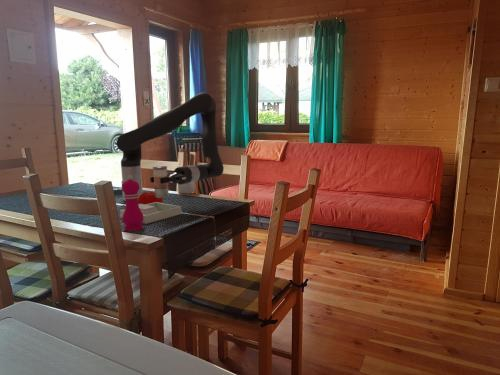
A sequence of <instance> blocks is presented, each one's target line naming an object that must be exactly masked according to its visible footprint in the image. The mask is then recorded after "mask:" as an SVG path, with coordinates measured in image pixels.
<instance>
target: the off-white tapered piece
mask: <svg viewBox="0 0 500 375" xmlns="http://www.w3.org/2000/svg"><path fill="white" fill-rule="evenodd" d="M138 206H139V208H140V210H141V212H142V214H143V215H148V214H152V213H156V212H157V208H155V206H150V205H144V204H138Z"/></svg>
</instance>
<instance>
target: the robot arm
mask: <svg viewBox="0 0 500 375" xmlns="http://www.w3.org/2000/svg"><path fill="white" fill-rule="evenodd" d="M216 109H217V102H216V100H215V99H214V98H213V97H212V95H211V94H209V93H207V92H199V93H197V94H196V95H194V96H192V97H191V98H190V99H188V100H186V101H185V102H184V103H182V104H179V105H178V106H176V107H174V108H172V109H170V110H168V111H166V112H163V113H162V114H160V115H158V116H155V117H154V118H152V119H151V120H149V121H147V122H146V123H144V124H142V125H141V126H139V127H137V128H135V129H132V130H130V131H127V132H125V133H122V134H120V135H118V138H117V139H116V147H117V149H118V150H119V151H120V152H122V159H121V160H120V168H121V185H122V184H123V183H124V182H125V181H127V180H128V179H127V177H128V176H132V177H133V179H132V180H135V181H137V182H138V183H139V186H140V188H139V191H138V192H137V193H138V196H140V195H141V194H142V193H144V192H143V178H142V177H143V176H142V166H141V162H142V145H143V144H144V143H146V142H148V141H151V140H154V139H157V138H160V137H163V136H166V135H167V134H169V133H171V132H173V131H175V130H177V129H178V128H179V127H180V126H182V124H184V122H186V121H187V120H188V119H190V118H192V117H193V116H195V115H197V114H200V117H201V121H202V134H201V135H202V136H201V143H202V144H201V145H202V153H203V157H204V158H207V159H210V162H207V163H204V164H193V165H183V166H178V167H176V168H175V169H174V170H173V171H170V172H167V177H164V178H160V183H161V184H163V183H168V184H169V183H170V184H177V185H178V184H179V185H182V184H187V183H191V182H195V183H196V182H199V181H202V180H205V179H206V180H207V179H212V178H216V177H220V176H222V175H223V173H224V167H225V166H224V164H223V161H222V158H221V157H220V154H219V148H218V139H217V127H216V112H217V110H216ZM149 181H150V183H154V176H150V177H149ZM121 192H122V194H121V195H122V200H123V202H126V200H125V198H124V194H125V193H124V192H123V191H122V190H121ZM138 198H139V197H138Z"/></svg>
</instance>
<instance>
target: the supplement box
mask: <svg viewBox="0 0 500 375" xmlns="http://www.w3.org/2000/svg"><path fill="white" fill-rule="evenodd" d="M177 190H178V191H177V192H178V194H192V193H194V192H195V191H196V181H195V182H191V183H187V184H182V185H179V184H177Z"/></svg>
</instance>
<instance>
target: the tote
mask: <svg viewBox="0 0 500 375" xmlns="http://www.w3.org/2000/svg"><path fill="white" fill-rule="evenodd" d="M145 205H150V206H155V208H157V212H156V213H152V214H148V215H143V218H144V220H143V222H142V223H141V224H146V225H147V224H150V223H153V222H157V221H160V220H164V219H168V218H172V217H175V216H179V215H182V214H183V211H182V210H183V209H182V206H180V205H176V204H175V205H174V204H170V203H169V204H168V203H164V202H163V203H159V202H154V203H150V204H145ZM124 211H125V209H119V214H120V215H119V217H120V218H121V219H122V217H123V214H124Z"/></svg>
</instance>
